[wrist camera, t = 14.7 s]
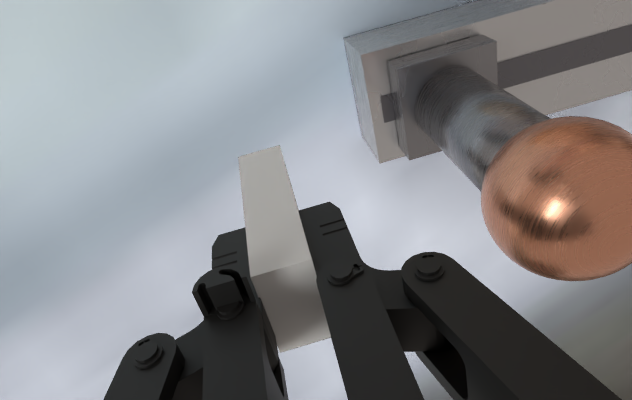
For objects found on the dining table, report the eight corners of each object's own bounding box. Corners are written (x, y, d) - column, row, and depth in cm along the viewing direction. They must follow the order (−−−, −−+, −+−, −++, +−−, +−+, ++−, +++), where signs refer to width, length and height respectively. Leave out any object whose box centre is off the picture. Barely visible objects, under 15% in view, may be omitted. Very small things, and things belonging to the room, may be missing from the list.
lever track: (343, 38, 22) (361, 55, 19) (677, -56, 22) (738, -51, 20) (362, 137, 24) (379, 164, 22) (659, 51, 25) (711, 67, 22)
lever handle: (381, 57, 19) (538, 195, 10) (486, 28, 20) (735, 136, 10) (396, 153, 22) (533, 336, 12) (489, 126, 22) (694, 287, 13)
